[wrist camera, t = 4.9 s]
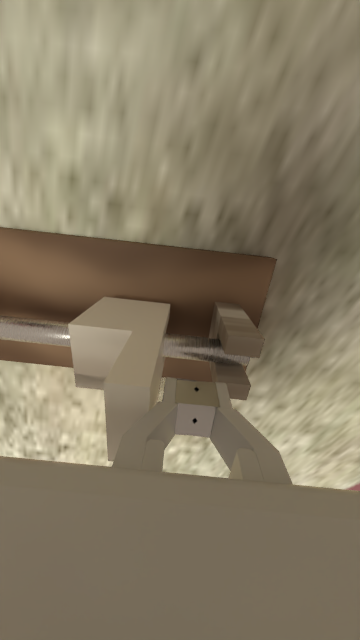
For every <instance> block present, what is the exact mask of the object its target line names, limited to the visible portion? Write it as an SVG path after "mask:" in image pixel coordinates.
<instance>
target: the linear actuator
mask: <svg viewBox="0 0 360 640" xmlns="http://www.w3.org/2000/svg"><path fill="white" fill-rule="evenodd" d="M276 260H277V259H274V258H271V257H264V256H255V255H246V254H237V253H228V252H219V251H210V250H201V249H192V248H183V247H174V246H165V245H156V244H147V243H138V242H129V241H120V240H111V239H102V238H93V237H84V236H75V235H66V234H57V233H48V232H39V231H30V230H21V229H12V228H3V227H0V315H2V316H11V317H21V318H30V319H39V320H48V321H58V322H67V323H70V322H72V321H73V320H74V319H75V318H77V317H78V316H79V315H81V314H82V313H83V312H85V311H86V310H87V309H89V308H90V307H91V306H93V305H94V304H95V303H97V302H98V301H99V300H101V299H102V298H103V297H111V298H120V299H129V300H138V301H148V302H157V303H166V304H170V315H169V320H168V325H167V329H166V333H169V334H178V335H188V336H197V337H206V338H215V339H220V341H221V344H222V347H223V351H224V354H229V355H238V356H247V357H257V358H259V357H260V354H261V350H262V347H263V344H264V341H265V339H264V338H263V336H262V335H261V333H260V332H259V331H258V329H257V328H258V324H259V321H260V317H261V314H262V310H263V307H264V303H265V300H266V296H267V292H268V289H269V285H270V282H271V278H272V275H273V271H274V268H275V264H276ZM0 360H5V361H15V362H24V363H34V364H43V365H53V366H62V367H71V368H74V367H73V359H72V351H71V347H67V346H58V345H49V344H39V343H30V342H21V341H11V340H2V339H0ZM246 367H247V365H246V366H245V365H236V364H226V363H217V362H208V361H198V360H189V359H180V358H170V357H165V361H164V367H163V372H162V377H170V378H176V379H177V378H180V379H188V380H196V381H206V382H220V383H226V385H227V389H228V393H229V396H230V399H239V400H247V396H248V393H249V390H250V387H251V384H250V382H249V380H248V377H247V375H246V372H245V371H246Z"/></svg>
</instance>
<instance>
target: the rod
mask: <svg viewBox="0 0 360 640" xmlns="http://www.w3.org/2000/svg"><path fill="white" fill-rule="evenodd" d="M68 324H69V323H67V322H58V321H48V320H39V319H30V318H21V317H11V316H2V315H0V339H2V340H11V341H21V342H30V343H39V344H49V345H58V346H67V347H71V343H70V335H69V328H68ZM163 357H170V358H180V359H189V360H198V361H208V362H217V363H226V364H236V365H245V366H246V365H247V364H248V362H249V359H250V357H247V356H238V355H229V354H224V351H223V347H222V344H221V341H220V339H215V338H206V337H197V336H188V335H178V334H169V333H166V334H165V338H164V350H163Z"/></svg>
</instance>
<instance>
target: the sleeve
mask: <svg viewBox="0 0 360 640" xmlns="http://www.w3.org/2000/svg"><path fill="white" fill-rule="evenodd" d="M169 315H170V304H166V303H157V302H148V301H138V300H129V299H120V298H111V297H103V298H102V299H101V300H99V301H98V302H97V303H95V304H94V305H93V306H91V307H90V308H89V309H87V310H86V311H85V312H83V313H82V314H81V315H79V316H78V317H77V318H75V319H74V320H73V321H72V322H70V323H69V324H68V328H69V335H70V343H71V351H72V359H73V367H74V375H75V383H76V387H81V388H91V389H100V390H104V397H105V414H106V432H107V449H108V461H114V459H115V456H116V453H117V450H118V447H119V444H120V441H121V438H122V435H123V434H124V433H125V432H126V431H128V430H129V429H130V428H131V427H132V426H133V425H134V424H135V423H136V422H137V421H138V420H140V419H141V418H142V417H143V416H144V415H145V414H146V413H147V412H149V410H151V409H152V408H153V407H154V406H155V405H156V404H157V400H158V394H159V389H160V383H161V378H162V372H163V367H164V361H165V357H163V350H164V338H165V334H166V329H167V325H168V320H169Z"/></svg>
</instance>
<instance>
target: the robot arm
mask: <svg viewBox="0 0 360 640" xmlns="http://www.w3.org/2000/svg"><path fill="white" fill-rule="evenodd" d="M175 434H179V435H193V436H201V437H209V438H210V439H211V441H212V443H213V444H214V446H215V447H216V449H217V450H218V452H219V454H220V455H221V457H222V458H223V460H224V461H225V463H226V465H227V466H228V468H229V469H230V471H231V472H230V475H229V478H219V477H209V476H199V475H189V474H179V473H168V472H162V468H163V458H164V450H165V448H166V447H167V445H168V444H169V443H170V441H171V440H172V438H173V437H174V435H175ZM0 640H360V491H353V490H343V489H333V488H323V487H312V486H302V485H293V484H292V481H291V479H290V476H289V474H288V472H287V469H286V467H285V465H284V462H283V460H282V457H281V455H280V453H279V451H278V450H277V449H276V448H275V447H274V446H273V445H272V444H271V443H270V442H269V441H268V440H267V439H266V438H265V437H264V436H263V435H262V434H261V433H260V432H259V431H258V430H257V429H256V428H255V427H254V426H253V425H252V424H251V423H250V422H249V421H247V420H246V419H245V418H244V417H243V416H242V415H241V414H240V413H239V412H238V411H237V410H236V409H233V408H232V404H231V400H230V396H229V393H228V389H227V385H226V383H220V382H206V381H196V380H188V379H180V378H177V380H176V378H170V377H166V380H165V387H164V393H163V400H162V402H158V403H157V404H156V405H155V406H154V407H153V408H152V409H151V410H149V412H147V413H146V414H145V415H144V416H143V417H142V418H141V419H140V420H138V421H137V422H136V423H135V424H134V425H133V426H132V427H131V428H130V429H129V430H128V431H126V432H125V433H124V434H123V435H122V438H121V441H120V444H119V447H118V450H117V453H116V456H115V459H114V462H113V465H112V467H107V466H97V465H86V464H76V463H66V462H55V461H45V460H35V459H25V458H14V457H4V456H0Z"/></svg>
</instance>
